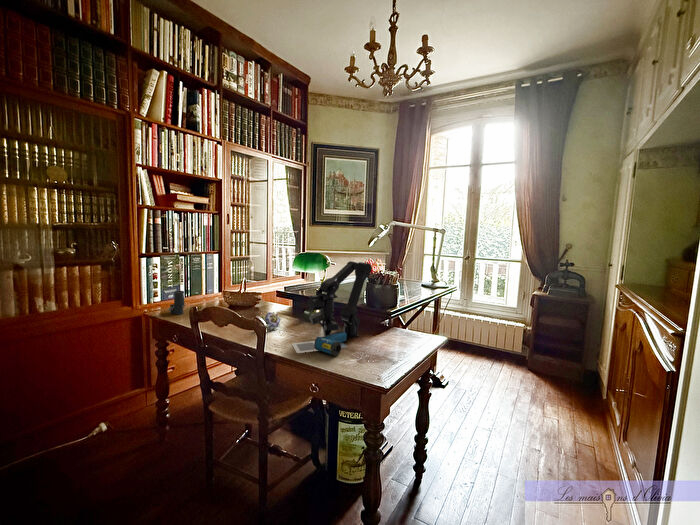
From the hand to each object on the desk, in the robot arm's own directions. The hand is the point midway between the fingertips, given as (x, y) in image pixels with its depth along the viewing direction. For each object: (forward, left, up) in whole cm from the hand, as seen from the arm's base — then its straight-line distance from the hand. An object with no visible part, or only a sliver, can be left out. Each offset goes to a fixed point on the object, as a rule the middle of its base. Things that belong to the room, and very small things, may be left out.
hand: (326, 338), depth 155 cm
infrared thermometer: (-1, +9, -2) cm, 9 cm away
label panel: (+5, +4, -2) cm, 6 cm away
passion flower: (+23, -27, -2) cm, 36 cm away
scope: (+71, -70, -2) cm, 100 cm away
